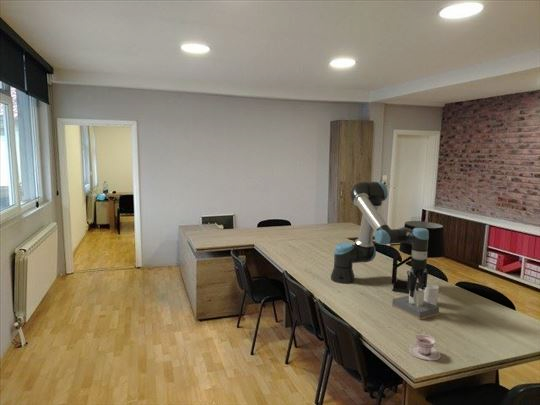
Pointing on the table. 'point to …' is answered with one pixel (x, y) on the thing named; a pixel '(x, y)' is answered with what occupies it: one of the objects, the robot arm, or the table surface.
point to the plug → (418, 297)
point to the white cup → (431, 293)
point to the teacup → (424, 348)
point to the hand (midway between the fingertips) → (415, 301)
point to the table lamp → (433, 251)
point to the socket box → (415, 308)
